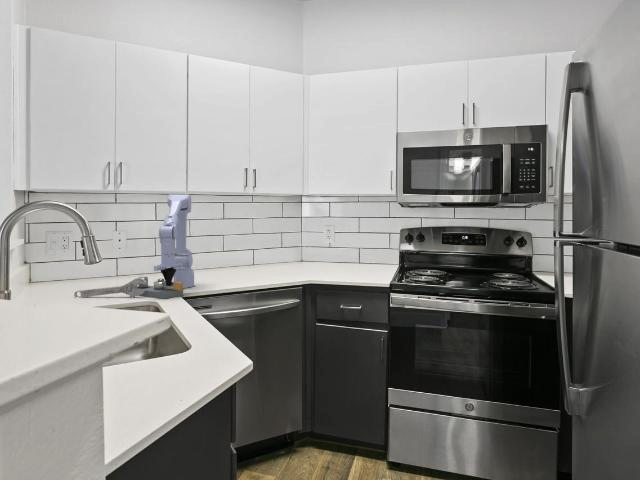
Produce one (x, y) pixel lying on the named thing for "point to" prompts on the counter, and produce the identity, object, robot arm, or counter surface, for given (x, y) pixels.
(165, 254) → the robot arm
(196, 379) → the counter surface
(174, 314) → the counter surface
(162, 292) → the pin board
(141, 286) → the steel pin
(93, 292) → the wrench
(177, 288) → the silver elongated block
